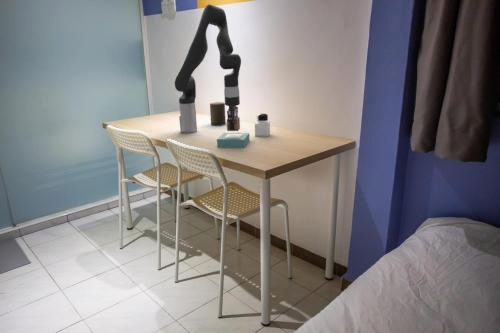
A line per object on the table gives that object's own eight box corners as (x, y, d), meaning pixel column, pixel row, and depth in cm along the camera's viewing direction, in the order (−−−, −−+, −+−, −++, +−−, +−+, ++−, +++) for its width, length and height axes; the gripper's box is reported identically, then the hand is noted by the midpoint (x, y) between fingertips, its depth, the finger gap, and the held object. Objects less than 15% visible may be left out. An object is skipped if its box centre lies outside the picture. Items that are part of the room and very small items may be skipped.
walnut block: (227, 130, 191) (226, 119, 189) (229, 128, 196) (229, 117, 194) (237, 131, 190) (237, 119, 188) (240, 128, 195) (239, 117, 193)
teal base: (217, 146, 190) (216, 138, 189) (224, 139, 203) (224, 132, 202) (244, 147, 188) (243, 139, 186) (249, 140, 201) (249, 132, 199)
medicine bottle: (270, 133, 214) (269, 113, 210) (267, 136, 207) (266, 115, 204) (258, 133, 216) (257, 112, 212) (254, 136, 209) (254, 115, 206)
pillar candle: (223, 125, 239) (222, 102, 234) (208, 125, 241) (207, 102, 236) (227, 122, 248) (226, 100, 243) (213, 122, 250) (212, 100, 245)
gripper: (228, 93, 195) (229, 125, 200) (221, 97, 182) (222, 131, 187) (242, 93, 194) (243, 125, 199) (235, 97, 180) (237, 131, 186)
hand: (233, 128), depth 193 cm, fingers closed on walnut block, 5 cm apart
